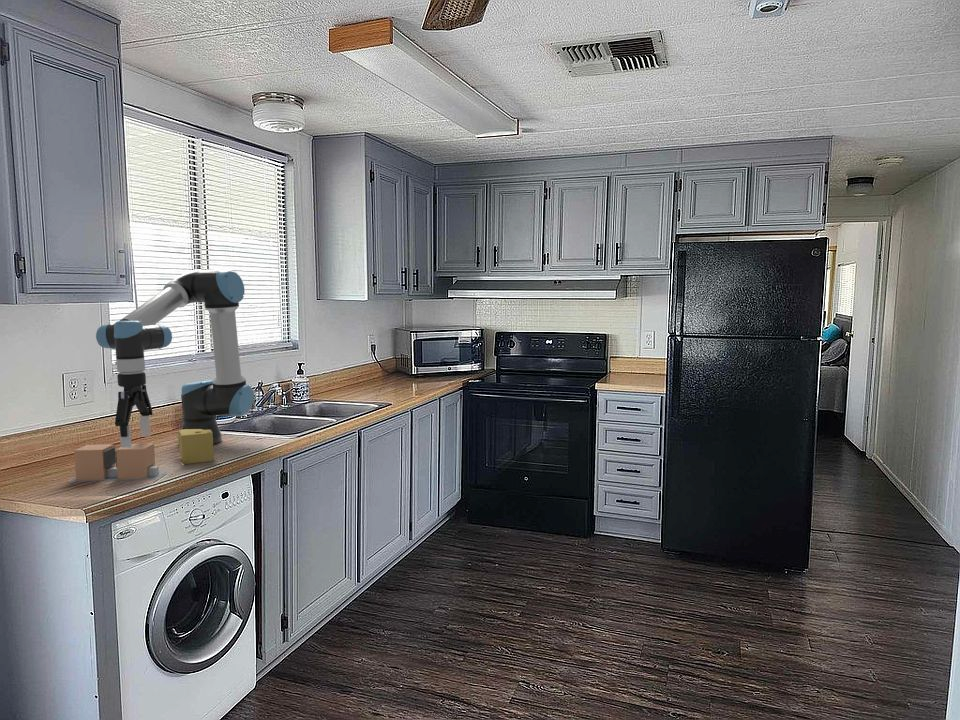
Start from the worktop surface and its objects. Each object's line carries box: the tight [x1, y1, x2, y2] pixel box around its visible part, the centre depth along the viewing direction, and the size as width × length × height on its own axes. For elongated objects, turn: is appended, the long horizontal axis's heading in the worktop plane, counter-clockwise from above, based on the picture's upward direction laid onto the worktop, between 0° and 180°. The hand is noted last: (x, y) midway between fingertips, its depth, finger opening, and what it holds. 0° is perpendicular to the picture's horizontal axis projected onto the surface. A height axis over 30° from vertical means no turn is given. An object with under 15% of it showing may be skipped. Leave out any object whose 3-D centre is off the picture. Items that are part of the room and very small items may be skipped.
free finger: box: [115, 443, 156, 479], centre depth 206 cm, size 7×9×9 cm
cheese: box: [177, 429, 215, 465], centre depth 229 cm, size 10×11×10 cm
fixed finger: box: [73, 443, 116, 480], centre depth 205 cm, size 7×9×9 cm
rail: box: [66, 465, 167, 484], centre depth 206 cm, size 10×25×4 cm, turn 94°
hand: (136, 441), depth 206 cm, fingers open, 13 cm apart
